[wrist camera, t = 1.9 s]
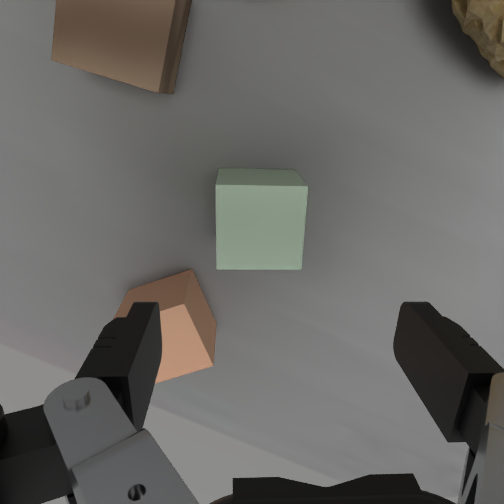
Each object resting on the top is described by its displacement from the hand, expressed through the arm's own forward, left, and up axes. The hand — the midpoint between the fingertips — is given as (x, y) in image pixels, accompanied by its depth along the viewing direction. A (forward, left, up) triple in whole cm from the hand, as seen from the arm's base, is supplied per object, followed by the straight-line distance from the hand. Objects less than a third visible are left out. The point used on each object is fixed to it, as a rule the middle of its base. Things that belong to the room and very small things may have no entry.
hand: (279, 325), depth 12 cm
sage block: (0, 0, -15) cm, 15 cm away
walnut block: (-10, -7, -15) cm, 19 cm away
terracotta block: (+8, -6, -15) cm, 18 cm away
